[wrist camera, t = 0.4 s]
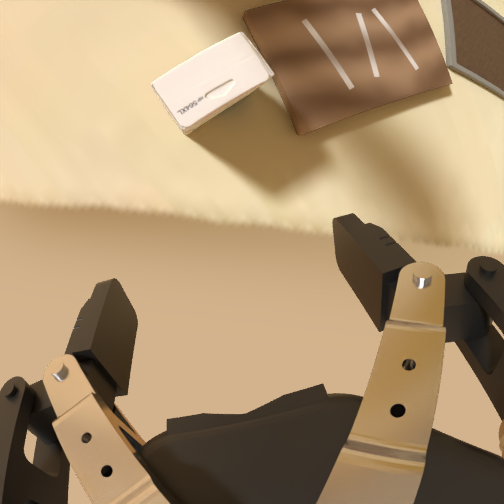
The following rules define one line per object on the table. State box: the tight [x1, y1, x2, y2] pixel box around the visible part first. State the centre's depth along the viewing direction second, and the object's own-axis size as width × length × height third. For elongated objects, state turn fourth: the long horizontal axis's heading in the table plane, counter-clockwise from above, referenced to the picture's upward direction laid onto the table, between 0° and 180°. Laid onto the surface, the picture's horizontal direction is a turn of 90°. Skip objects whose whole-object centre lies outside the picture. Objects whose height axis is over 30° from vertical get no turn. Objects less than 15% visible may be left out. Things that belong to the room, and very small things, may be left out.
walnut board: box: [243, 0, 453, 135], centre depth 32 cm, size 16×26×2 cm, turn 114°
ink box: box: [151, 32, 274, 135], centre depth 26 cm, size 9×5×12 cm, turn 123°
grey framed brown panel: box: [441, 0, 504, 99], centre depth 35 cm, size 19×2×30 cm
